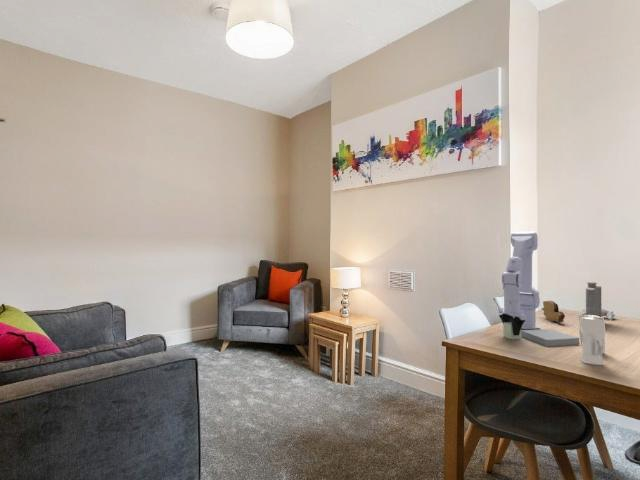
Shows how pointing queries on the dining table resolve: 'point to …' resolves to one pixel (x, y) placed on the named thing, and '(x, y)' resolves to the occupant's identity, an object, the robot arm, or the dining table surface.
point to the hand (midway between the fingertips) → (512, 333)
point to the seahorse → (603, 313)
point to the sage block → (510, 331)
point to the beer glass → (592, 339)
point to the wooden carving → (552, 311)
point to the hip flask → (593, 299)
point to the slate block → (550, 337)
